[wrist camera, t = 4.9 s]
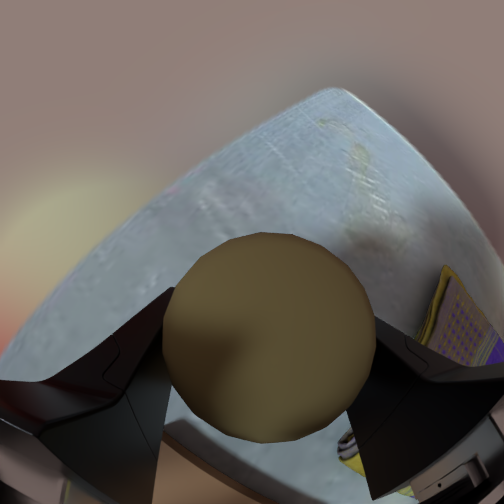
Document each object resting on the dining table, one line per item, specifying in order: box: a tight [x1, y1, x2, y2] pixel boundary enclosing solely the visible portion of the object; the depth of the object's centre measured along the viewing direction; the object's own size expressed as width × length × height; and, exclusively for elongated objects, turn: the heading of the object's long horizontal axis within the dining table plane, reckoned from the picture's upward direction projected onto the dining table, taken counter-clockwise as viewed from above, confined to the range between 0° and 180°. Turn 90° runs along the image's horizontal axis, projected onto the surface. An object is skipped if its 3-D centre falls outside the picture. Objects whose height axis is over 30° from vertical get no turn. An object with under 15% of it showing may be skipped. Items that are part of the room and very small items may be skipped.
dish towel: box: [337, 265, 504, 499], centre depth 14 cm, size 18×24×3 cm
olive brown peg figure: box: [162, 232, 376, 444], centre depth 10 cm, size 6×6×11 cm
